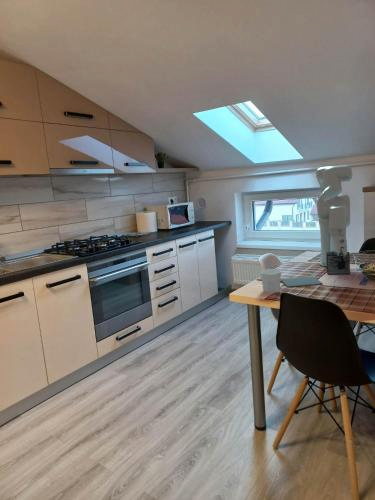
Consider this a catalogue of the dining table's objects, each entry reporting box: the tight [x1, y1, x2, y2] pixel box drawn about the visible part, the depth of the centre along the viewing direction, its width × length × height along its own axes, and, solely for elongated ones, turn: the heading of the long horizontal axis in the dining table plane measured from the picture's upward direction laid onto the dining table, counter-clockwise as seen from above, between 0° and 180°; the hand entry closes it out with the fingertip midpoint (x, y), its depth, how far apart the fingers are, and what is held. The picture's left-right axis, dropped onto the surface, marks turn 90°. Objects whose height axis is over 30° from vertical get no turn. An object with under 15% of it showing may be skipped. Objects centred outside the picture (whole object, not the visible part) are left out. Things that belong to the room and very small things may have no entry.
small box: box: [326, 251, 351, 276], centre depth 183 cm, size 11×6×10 cm, turn 72°
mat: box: [280, 275, 324, 288], centre depth 196 cm, size 18×14×1 cm
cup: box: [260, 268, 282, 294], centre depth 185 cm, size 10×10×10 cm
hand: (338, 266), depth 183 cm, fingers closed on small box, 7 cm apart
